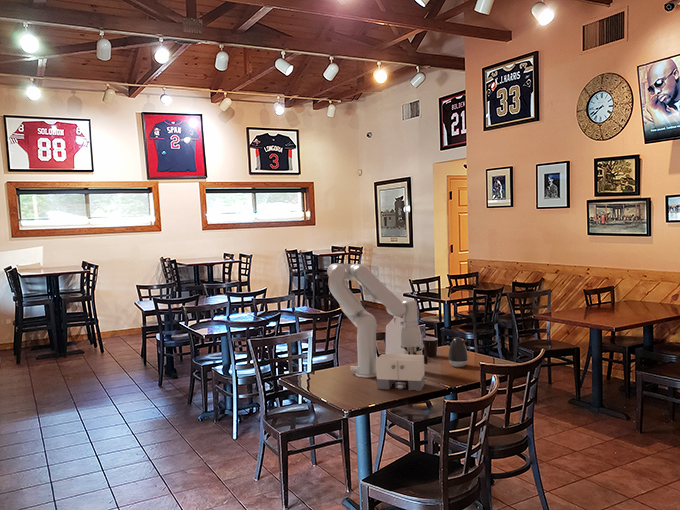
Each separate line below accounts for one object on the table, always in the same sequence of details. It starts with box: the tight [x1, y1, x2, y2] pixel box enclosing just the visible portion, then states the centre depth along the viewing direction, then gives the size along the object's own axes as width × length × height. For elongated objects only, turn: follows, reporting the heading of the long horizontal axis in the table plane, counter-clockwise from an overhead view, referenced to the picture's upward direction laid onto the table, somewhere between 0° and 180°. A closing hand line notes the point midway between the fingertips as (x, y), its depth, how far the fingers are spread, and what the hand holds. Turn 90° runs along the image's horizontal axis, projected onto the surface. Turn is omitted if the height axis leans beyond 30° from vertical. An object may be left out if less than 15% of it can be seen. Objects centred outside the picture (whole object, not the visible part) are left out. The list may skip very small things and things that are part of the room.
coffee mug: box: [422, 337, 439, 359], centre depth 304 cm, size 12×9×10 cm
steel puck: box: [394, 381, 407, 390], centre depth 244 cm, size 5×5×2 cm
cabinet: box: [376, 353, 426, 392], centre depth 245 cm, size 20×13×14 cm, turn 73°
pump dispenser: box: [447, 336, 469, 368], centre depth 280 cm, size 10×10×15 cm
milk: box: [384, 316, 408, 355], centre depth 307 cm, size 12×12×26 cm
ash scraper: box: [399, 347, 414, 382], centre depth 265 cm, size 6×24×10 cm, turn 163°
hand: (412, 359), depth 273 cm, fingers closed on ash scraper, 1 cm apart
